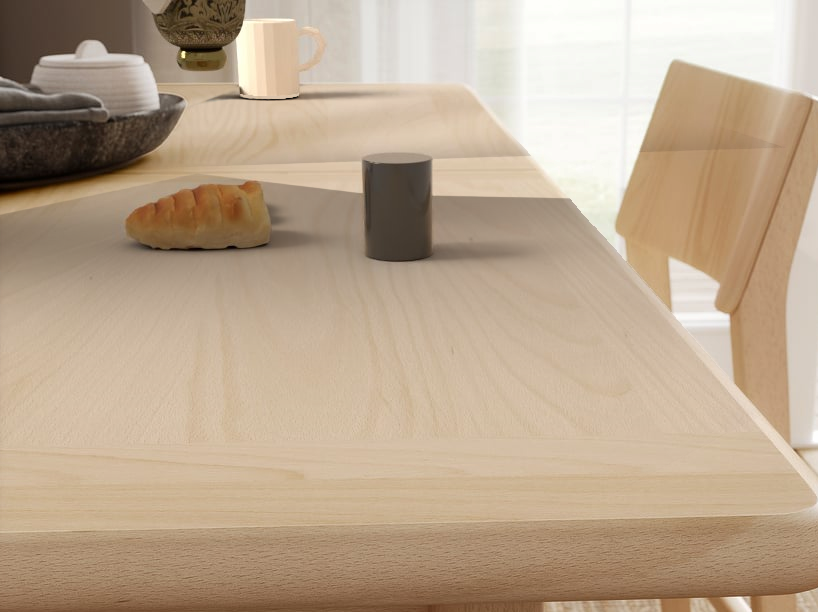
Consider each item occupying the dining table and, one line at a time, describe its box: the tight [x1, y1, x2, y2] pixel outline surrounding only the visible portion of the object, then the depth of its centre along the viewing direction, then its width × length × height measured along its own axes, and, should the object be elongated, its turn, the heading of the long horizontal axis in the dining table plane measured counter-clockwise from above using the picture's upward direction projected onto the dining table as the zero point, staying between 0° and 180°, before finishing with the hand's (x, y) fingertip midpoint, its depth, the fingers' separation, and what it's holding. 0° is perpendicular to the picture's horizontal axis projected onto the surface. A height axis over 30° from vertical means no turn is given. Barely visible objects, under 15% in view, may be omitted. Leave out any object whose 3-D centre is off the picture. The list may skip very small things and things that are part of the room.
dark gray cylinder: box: [361, 151, 434, 262], centre depth 74 cm, size 4×4×6 cm
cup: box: [151, 0, 247, 72], centre depth 84 cm, size 8×7×8 cm
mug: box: [235, 18, 328, 96], centre depth 158 cm, size 8×12×10 cm
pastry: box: [125, 180, 272, 251], centre depth 77 cm, size 9×7×4 cm
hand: (204, 4), depth 83 cm, fingers closed on cup, 7 cm apart
